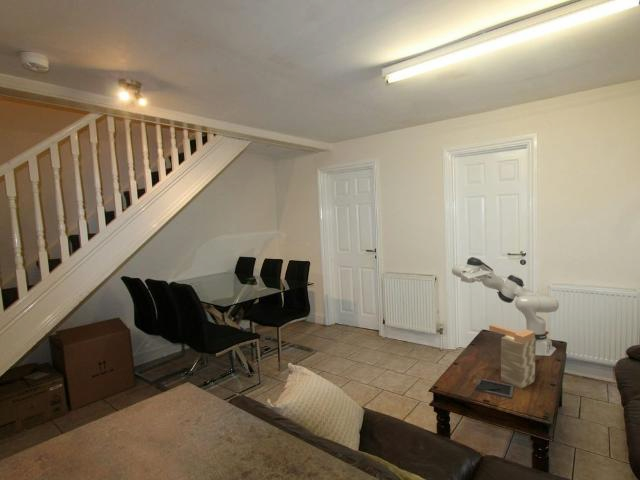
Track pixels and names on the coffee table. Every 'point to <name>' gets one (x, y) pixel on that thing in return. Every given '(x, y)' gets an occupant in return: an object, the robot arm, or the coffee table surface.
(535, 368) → the mug
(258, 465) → the coffee table surface
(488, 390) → the picture frame
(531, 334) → the t bar
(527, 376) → the pedestal
